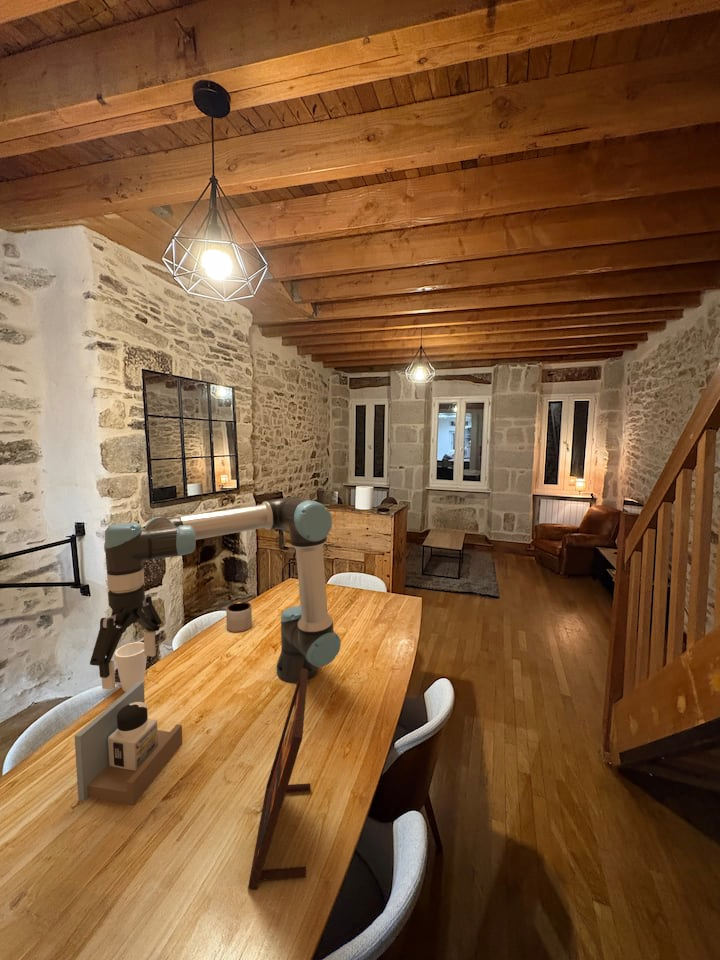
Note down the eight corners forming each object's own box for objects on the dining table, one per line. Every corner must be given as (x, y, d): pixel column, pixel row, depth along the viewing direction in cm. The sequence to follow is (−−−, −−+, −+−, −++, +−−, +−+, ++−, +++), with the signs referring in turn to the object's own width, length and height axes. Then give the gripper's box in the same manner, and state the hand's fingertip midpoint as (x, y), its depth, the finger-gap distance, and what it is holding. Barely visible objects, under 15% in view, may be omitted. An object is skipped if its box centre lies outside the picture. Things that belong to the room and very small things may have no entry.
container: (136, 772, 91) (133, 721, 90) (108, 766, 92) (105, 716, 91) (158, 747, 98) (156, 700, 97) (133, 742, 100) (130, 696, 99)
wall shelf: (184, 740, 104) (182, 686, 103) (130, 809, 85) (127, 743, 83) (141, 734, 106) (138, 681, 105) (78, 800, 87) (74, 735, 85)
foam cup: (155, 680, 130) (153, 645, 129) (131, 697, 122) (129, 659, 121) (134, 675, 134) (133, 640, 132) (109, 691, 125) (107, 653, 124)
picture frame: (266, 788, 90) (264, 669, 87) (310, 785, 91) (310, 667, 88) (247, 890, 69) (245, 739, 67) (305, 885, 70) (305, 735, 68)
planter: (257, 625, 171) (256, 605, 170) (237, 635, 162) (237, 614, 161) (240, 619, 177) (240, 599, 176) (221, 628, 168) (220, 607, 167)
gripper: (148, 569, 104) (152, 643, 106) (65, 608, 79) (72, 703, 82) (173, 571, 103) (176, 645, 105) (96, 611, 78) (103, 706, 80)
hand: (131, 670), depth 93 cm, fingers open, 13 cm apart
